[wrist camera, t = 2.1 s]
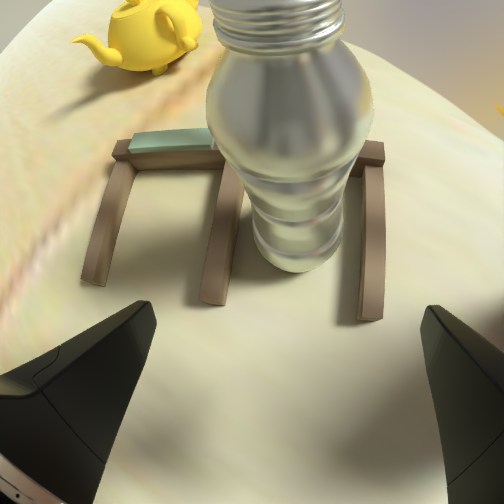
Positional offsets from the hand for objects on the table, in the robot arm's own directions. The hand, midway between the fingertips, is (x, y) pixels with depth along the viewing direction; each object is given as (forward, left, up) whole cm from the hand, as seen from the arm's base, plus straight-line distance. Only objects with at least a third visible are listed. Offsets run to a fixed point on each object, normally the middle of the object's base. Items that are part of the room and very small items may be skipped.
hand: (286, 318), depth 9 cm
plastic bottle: (+8, +1, -14) cm, 16 cm away
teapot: (+33, +20, -14) cm, 41 cm away
